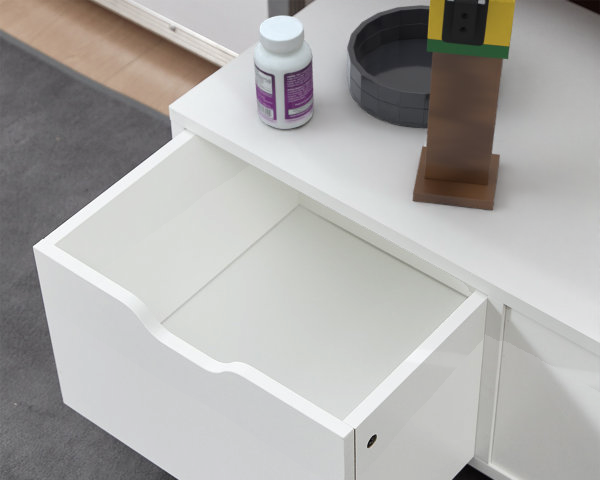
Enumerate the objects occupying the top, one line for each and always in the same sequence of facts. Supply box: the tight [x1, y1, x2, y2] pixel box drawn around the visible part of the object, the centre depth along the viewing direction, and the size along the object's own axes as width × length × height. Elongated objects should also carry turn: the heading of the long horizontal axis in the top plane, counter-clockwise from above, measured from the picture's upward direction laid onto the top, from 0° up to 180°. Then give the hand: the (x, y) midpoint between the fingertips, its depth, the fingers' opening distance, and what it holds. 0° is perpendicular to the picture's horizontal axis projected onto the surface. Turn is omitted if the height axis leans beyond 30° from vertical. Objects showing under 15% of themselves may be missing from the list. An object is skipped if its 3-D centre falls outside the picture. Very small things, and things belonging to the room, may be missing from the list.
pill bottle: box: [253, 15, 315, 130], centre depth 113 cm, size 5×5×10 cm
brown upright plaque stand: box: [412, 52, 504, 211], centre depth 104 cm, size 7×6×15 cm
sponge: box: [427, 0, 517, 60], centre depth 96 cm, size 6×4×5 cm, turn 79°
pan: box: [346, 4, 433, 129], centre depth 118 cm, size 14×14×4 cm
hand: (469, 6), depth 96 cm, fingers open, 9 cm apart
